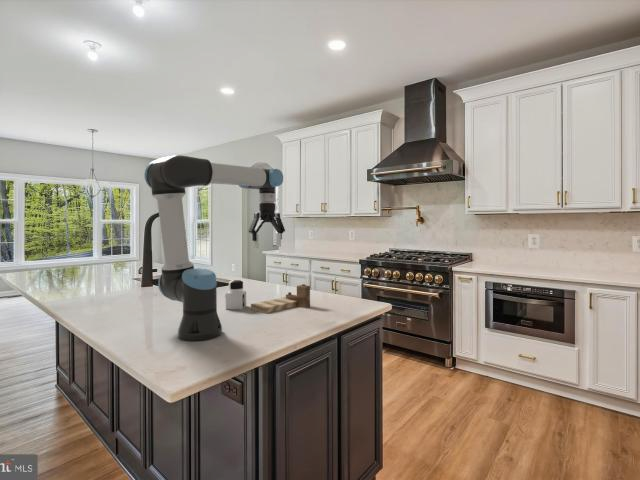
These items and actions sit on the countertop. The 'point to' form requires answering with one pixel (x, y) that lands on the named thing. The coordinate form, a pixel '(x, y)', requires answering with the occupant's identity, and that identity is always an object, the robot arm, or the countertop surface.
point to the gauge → (301, 296)
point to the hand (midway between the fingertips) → (267, 247)
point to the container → (236, 296)
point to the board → (274, 305)
